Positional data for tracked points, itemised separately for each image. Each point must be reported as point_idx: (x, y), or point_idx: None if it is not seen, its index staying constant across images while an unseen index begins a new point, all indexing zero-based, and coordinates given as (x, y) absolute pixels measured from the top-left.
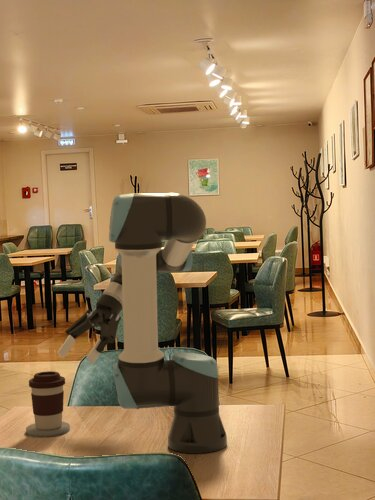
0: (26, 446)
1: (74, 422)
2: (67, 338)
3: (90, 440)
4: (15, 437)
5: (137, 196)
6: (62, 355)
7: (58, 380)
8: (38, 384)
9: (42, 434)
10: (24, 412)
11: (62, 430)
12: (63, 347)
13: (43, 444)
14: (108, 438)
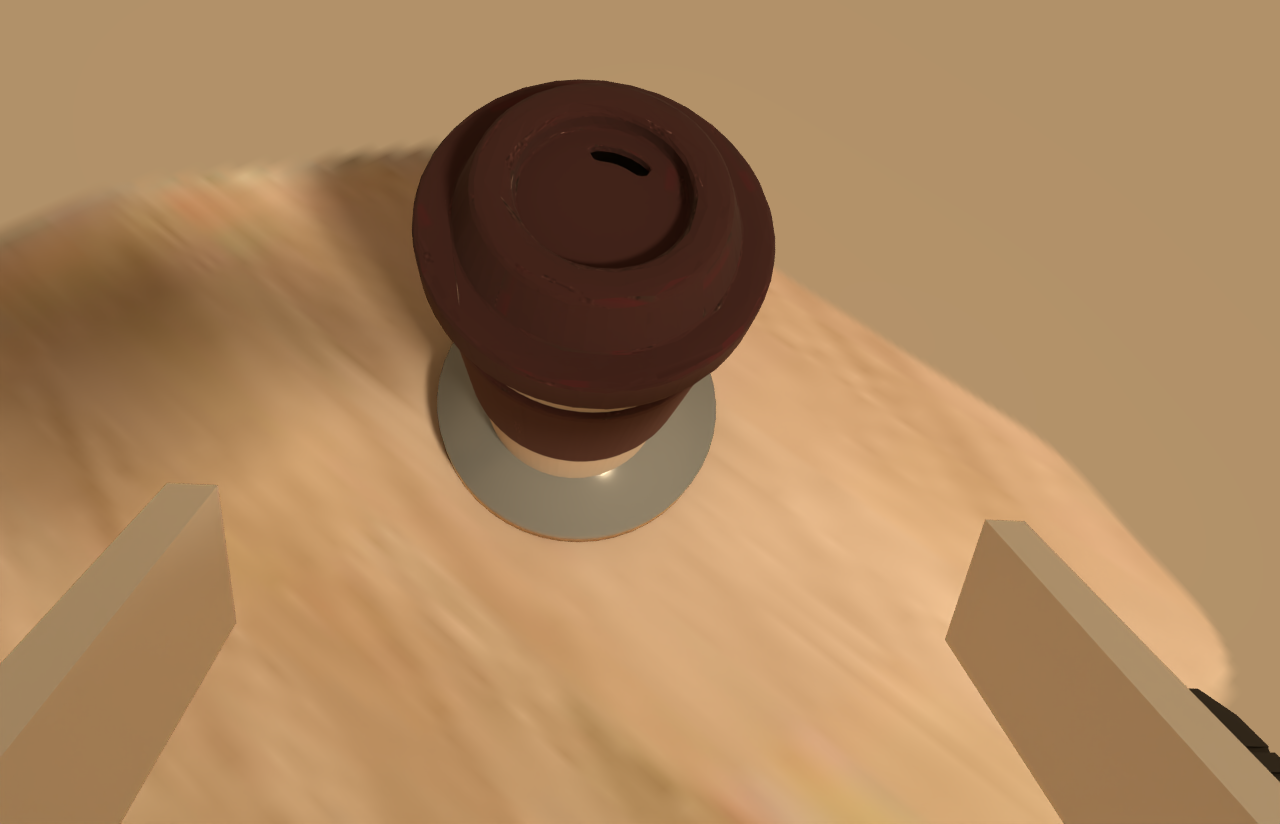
0: None
1: (598, 646)
2: (1225, 758)
3: (181, 428)
4: None
5: None
6: (964, 604)
7: (443, 236)
8: (527, 92)
9: None
10: None
11: (437, 402)
12: (1049, 620)
13: (389, 236)
14: (91, 526)
